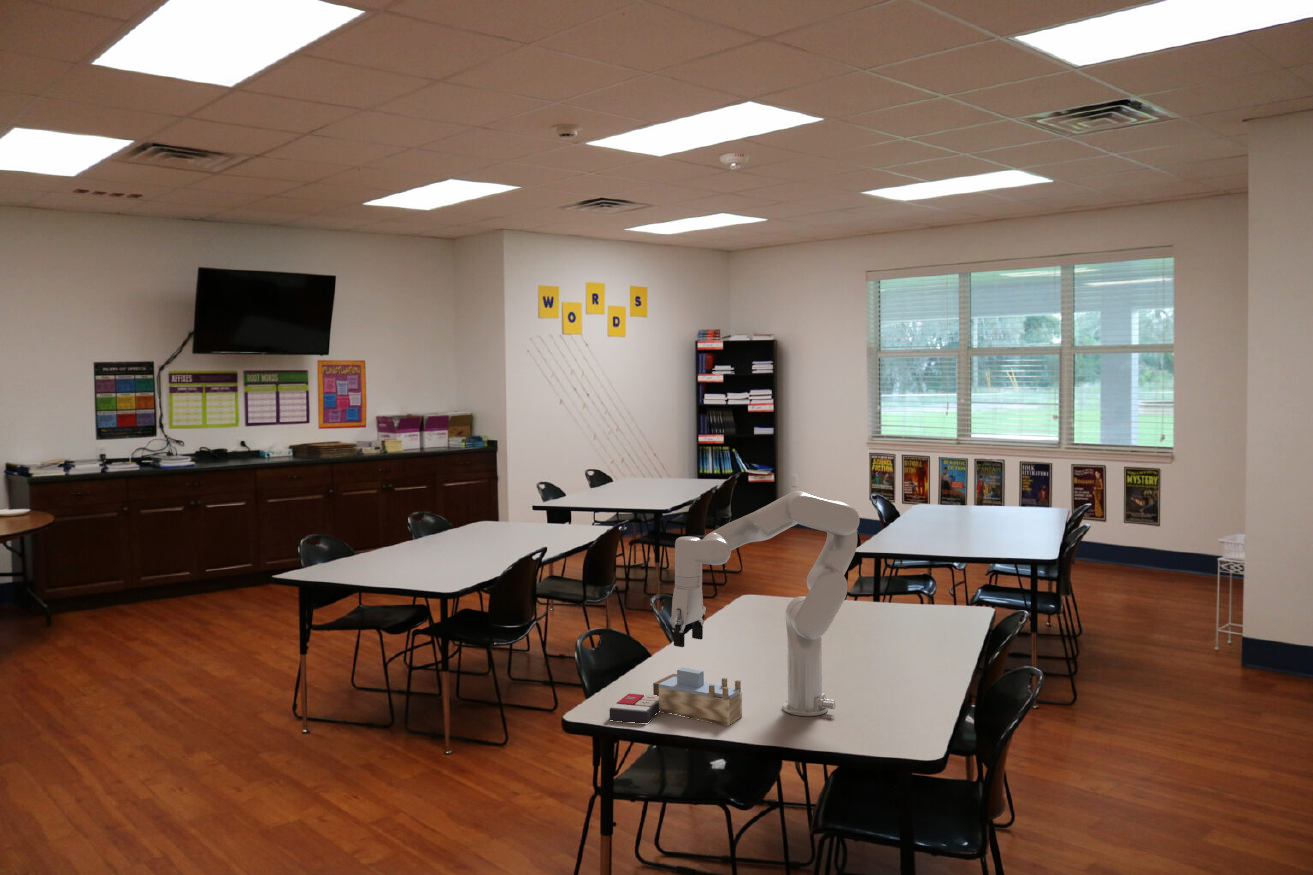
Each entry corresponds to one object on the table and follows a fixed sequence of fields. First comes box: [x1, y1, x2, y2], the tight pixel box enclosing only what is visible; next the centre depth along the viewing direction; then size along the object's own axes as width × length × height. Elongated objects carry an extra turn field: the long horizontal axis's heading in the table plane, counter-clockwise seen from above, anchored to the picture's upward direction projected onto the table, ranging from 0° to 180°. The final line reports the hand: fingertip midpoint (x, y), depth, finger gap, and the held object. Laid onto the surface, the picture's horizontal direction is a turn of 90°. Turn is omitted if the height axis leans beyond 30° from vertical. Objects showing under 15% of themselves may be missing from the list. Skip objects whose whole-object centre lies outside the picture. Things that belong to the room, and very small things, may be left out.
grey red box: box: [609, 693, 660, 724], centre depth 259 cm, size 11×4×15 cm
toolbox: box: [659, 677, 743, 727], centre depth 257 cm, size 22×8×10 cm, turn 57°
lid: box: [659, 667, 739, 699], centre depth 257 cm, size 22×8×5 cm, turn 57°
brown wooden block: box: [652, 673, 677, 696], centre depth 278 cm, size 2×11×4 cm, turn 146°
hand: (688, 642), depth 258 cm, fingers open, 9 cm apart
